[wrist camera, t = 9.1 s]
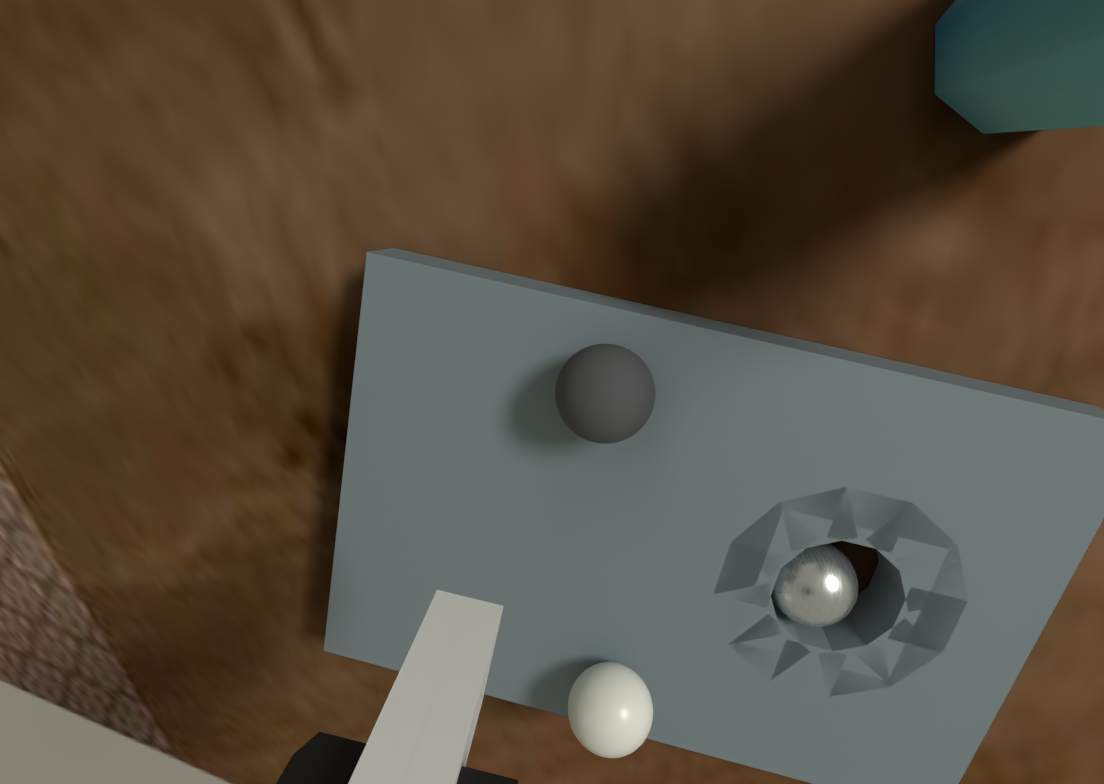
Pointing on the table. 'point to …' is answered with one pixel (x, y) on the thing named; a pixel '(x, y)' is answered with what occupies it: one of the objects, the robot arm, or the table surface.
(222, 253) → the table surface
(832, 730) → the plate
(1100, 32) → the cup
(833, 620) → the steel ball
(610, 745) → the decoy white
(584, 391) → the matte dark gray ball
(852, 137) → the table surface
